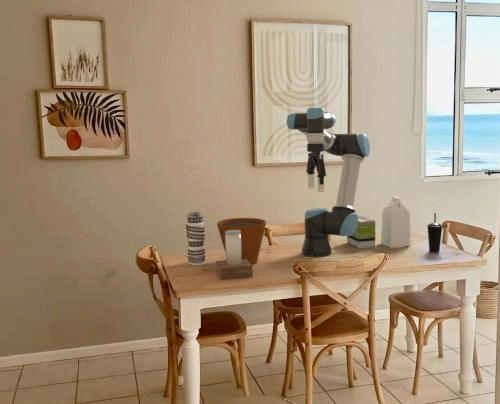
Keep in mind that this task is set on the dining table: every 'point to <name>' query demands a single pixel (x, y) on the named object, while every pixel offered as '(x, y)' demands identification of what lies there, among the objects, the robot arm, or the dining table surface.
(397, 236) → the milk
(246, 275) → the pedestal
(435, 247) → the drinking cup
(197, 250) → the striped cylindrical tower
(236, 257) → the glass jar
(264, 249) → the dining table surface
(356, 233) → the tea box
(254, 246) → the flower pot
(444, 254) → the dining table surface
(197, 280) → the dining table surface
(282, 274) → the dining table surface
